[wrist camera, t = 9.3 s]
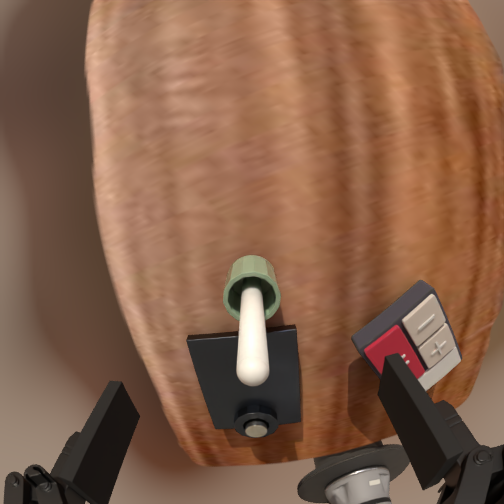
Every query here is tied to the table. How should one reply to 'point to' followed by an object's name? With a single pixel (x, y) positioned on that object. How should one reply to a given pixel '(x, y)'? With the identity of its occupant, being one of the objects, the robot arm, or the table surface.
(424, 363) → the calculator
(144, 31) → the table surface
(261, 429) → the button
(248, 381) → the stylus
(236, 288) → the pen cup
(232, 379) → the tablet
